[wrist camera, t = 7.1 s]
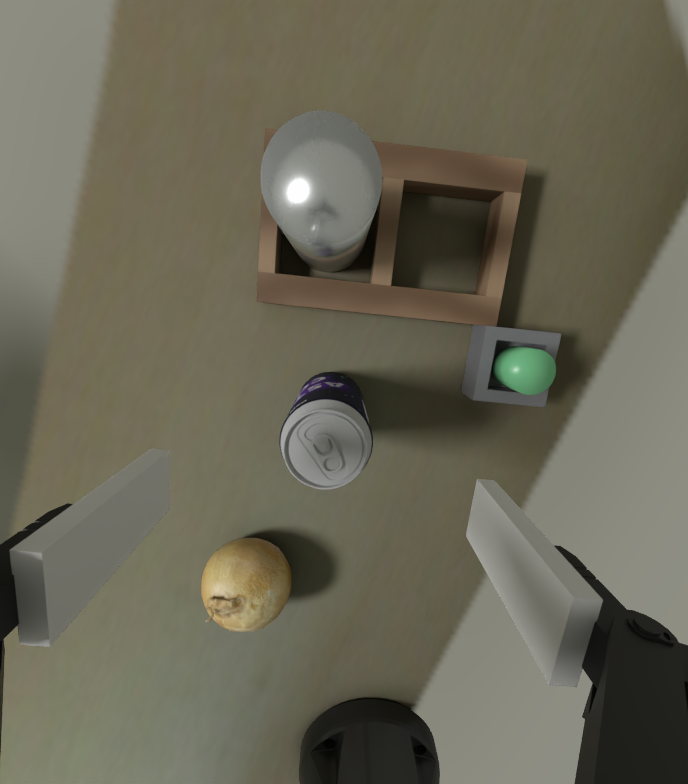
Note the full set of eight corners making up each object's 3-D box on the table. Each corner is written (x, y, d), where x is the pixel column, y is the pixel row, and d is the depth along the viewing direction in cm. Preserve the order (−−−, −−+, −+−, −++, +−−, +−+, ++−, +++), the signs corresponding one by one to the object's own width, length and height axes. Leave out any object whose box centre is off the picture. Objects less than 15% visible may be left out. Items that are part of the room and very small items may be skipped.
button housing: (526, 399, 33) (545, 407, 30) (461, 392, 32) (472, 400, 30) (541, 331, 31) (561, 333, 28) (472, 324, 31) (486, 325, 28)
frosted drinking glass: (361, 275, 30) (374, 251, 19) (289, 268, 30) (257, 237, 18) (369, 198, 29) (389, 118, 17) (294, 189, 29) (264, 103, 17)
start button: (529, 389, 30) (550, 397, 27) (489, 385, 30) (505, 392, 27) (538, 347, 29) (560, 351, 26) (497, 343, 29) (514, 346, 26)
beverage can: (347, 360, 32) (351, 386, 20) (372, 417, 33) (389, 474, 21) (288, 385, 32) (258, 426, 20) (315, 441, 33) (301, 510, 22)
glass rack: (484, 325, 31) (496, 326, 29) (263, 302, 31) (256, 301, 28) (511, 172, 29) (527, 159, 26) (271, 144, 28) (265, 128, 26)
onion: (282, 517, 35) (268, 567, 28) (303, 586, 37) (295, 650, 30) (203, 535, 35) (169, 589, 28) (227, 603, 37) (201, 669, 30)
